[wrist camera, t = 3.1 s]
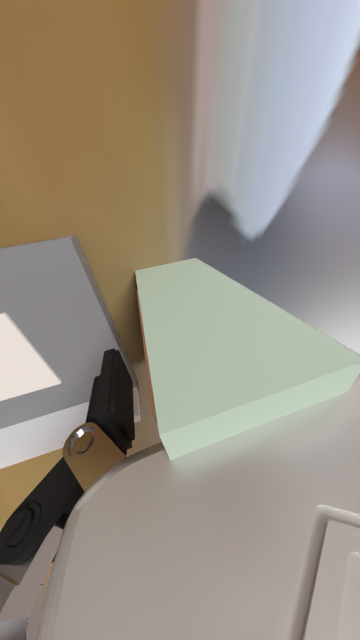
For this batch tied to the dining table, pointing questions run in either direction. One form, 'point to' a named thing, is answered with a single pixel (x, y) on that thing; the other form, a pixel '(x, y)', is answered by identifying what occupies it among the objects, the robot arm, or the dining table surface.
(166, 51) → the dining table surface
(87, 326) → the shelf board
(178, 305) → the box
